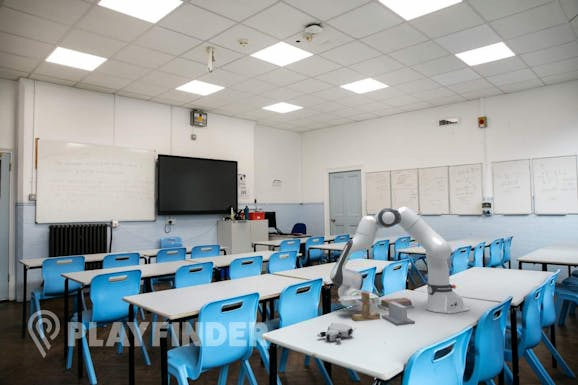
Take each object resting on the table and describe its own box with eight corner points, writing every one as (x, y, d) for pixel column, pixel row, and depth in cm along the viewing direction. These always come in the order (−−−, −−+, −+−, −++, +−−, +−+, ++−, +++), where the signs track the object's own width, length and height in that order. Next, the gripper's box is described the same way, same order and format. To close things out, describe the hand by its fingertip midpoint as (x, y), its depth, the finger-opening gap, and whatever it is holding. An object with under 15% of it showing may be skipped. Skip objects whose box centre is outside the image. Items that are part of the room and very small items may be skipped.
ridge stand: (399, 316, 202) (398, 300, 202) (414, 323, 189) (414, 307, 189) (381, 317, 199) (381, 302, 200) (396, 325, 186) (395, 308, 186)
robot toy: (340, 347, 160) (357, 335, 172) (339, 337, 160) (356, 325, 171) (315, 341, 167) (333, 330, 179) (315, 331, 167) (333, 320, 179)
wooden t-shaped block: (377, 317, 200) (376, 290, 201) (379, 318, 197) (379, 292, 198) (352, 319, 197) (351, 292, 197) (354, 321, 194) (354, 294, 194)
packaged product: (403, 296, 229) (414, 299, 219) (403, 304, 229) (414, 308, 219) (376, 298, 223) (386, 302, 214) (377, 307, 223) (386, 311, 213)
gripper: (336, 293, 207) (347, 298, 194) (371, 290, 213) (384, 296, 199) (337, 305, 207) (347, 311, 194) (371, 302, 212) (384, 308, 199)
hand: (366, 303), depth 197 cm, fingers closed on wooden t-shaped block, 3 cm apart
